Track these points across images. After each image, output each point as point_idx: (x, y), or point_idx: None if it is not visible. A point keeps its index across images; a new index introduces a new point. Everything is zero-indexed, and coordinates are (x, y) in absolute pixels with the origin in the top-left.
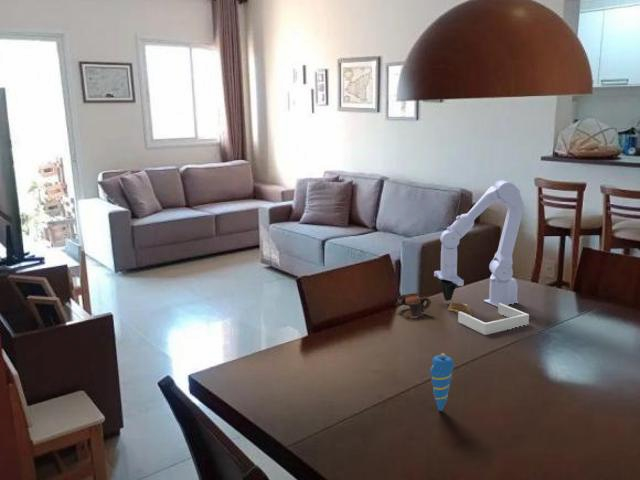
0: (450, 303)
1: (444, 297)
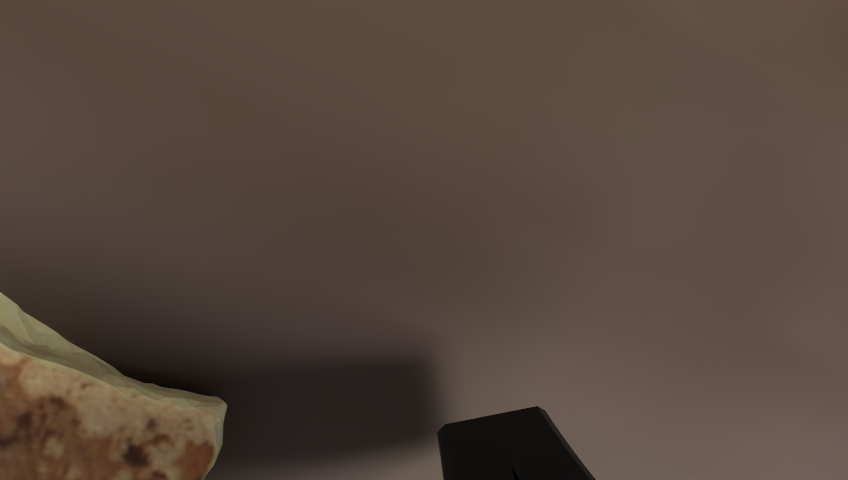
0: (191, 434)
1: (543, 456)
